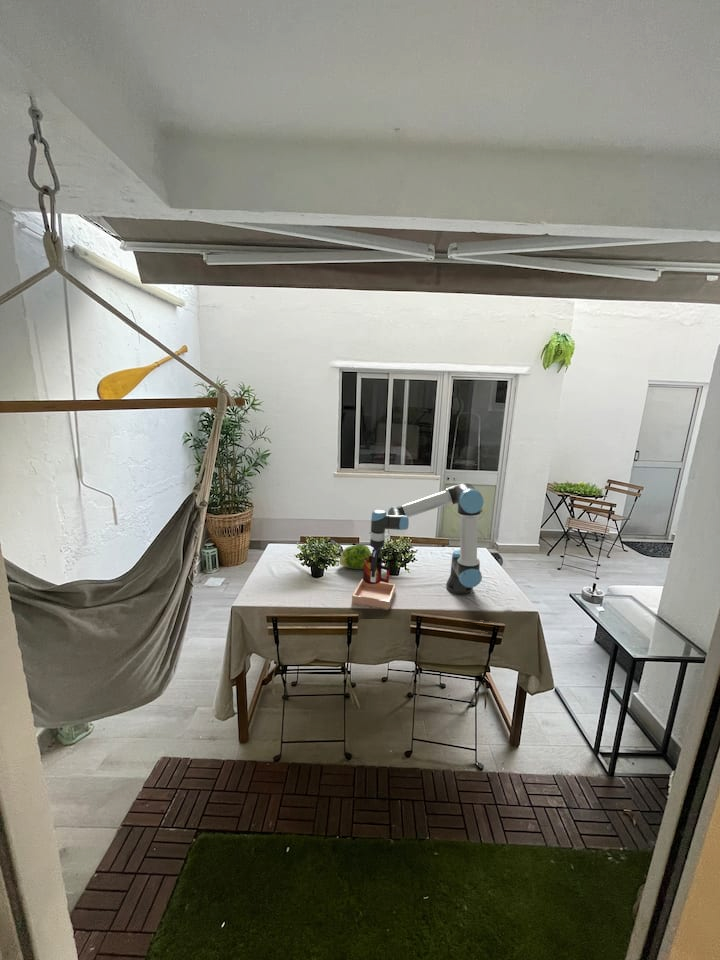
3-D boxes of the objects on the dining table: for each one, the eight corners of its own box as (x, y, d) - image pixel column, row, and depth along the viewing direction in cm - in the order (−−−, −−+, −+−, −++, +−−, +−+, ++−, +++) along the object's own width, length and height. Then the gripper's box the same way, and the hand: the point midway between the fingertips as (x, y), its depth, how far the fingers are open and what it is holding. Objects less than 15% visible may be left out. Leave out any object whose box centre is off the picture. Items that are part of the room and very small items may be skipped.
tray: (395, 592, 231) (395, 584, 230) (388, 610, 213) (389, 602, 211) (361, 586, 236) (361, 578, 235) (351, 603, 217) (352, 595, 216)
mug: (388, 585, 217) (389, 564, 214) (362, 583, 218) (363, 562, 215) (388, 576, 227) (389, 556, 224) (363, 575, 227) (364, 555, 224)
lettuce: (342, 564, 269) (335, 545, 264) (372, 556, 269) (366, 536, 263) (343, 579, 255) (336, 559, 249) (375, 570, 254) (369, 550, 248)
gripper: (375, 531, 228) (373, 567, 233) (365, 545, 207) (363, 585, 212) (388, 532, 226) (385, 569, 231) (379, 547, 205) (377, 588, 210)
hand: (375, 577), depth 222 cm, fingers closed on mug, 10 cm apart
